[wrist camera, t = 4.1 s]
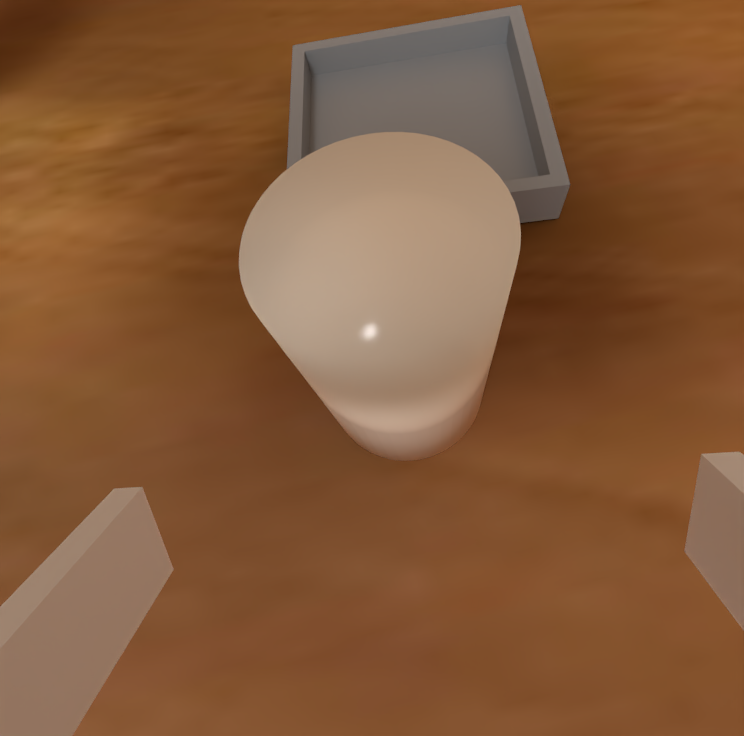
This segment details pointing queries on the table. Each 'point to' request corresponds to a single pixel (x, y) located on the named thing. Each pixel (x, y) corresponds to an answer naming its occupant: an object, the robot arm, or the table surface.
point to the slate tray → (437, 98)
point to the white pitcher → (386, 283)
